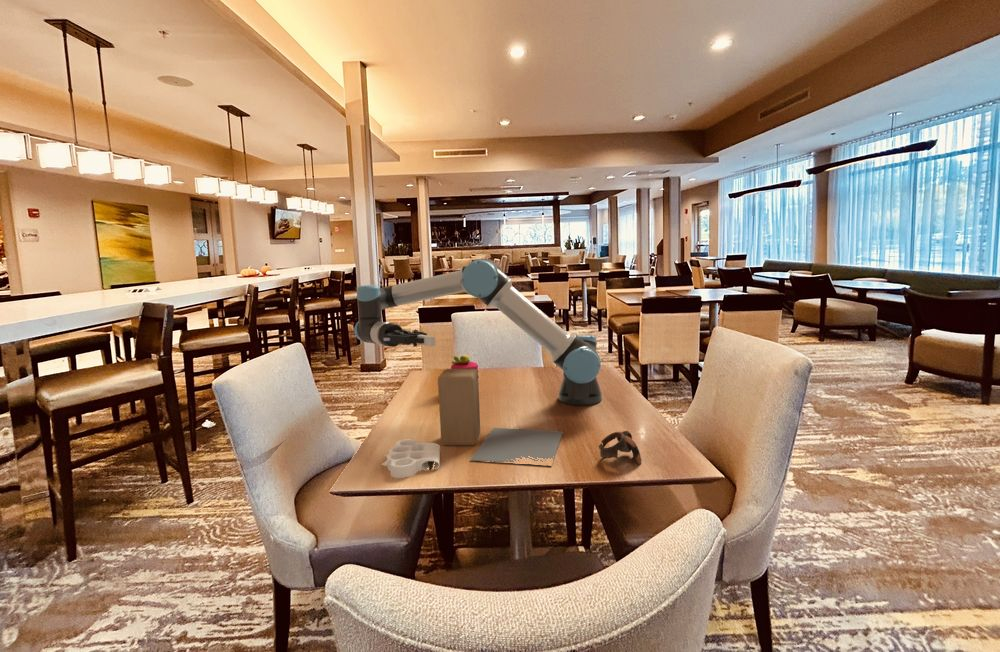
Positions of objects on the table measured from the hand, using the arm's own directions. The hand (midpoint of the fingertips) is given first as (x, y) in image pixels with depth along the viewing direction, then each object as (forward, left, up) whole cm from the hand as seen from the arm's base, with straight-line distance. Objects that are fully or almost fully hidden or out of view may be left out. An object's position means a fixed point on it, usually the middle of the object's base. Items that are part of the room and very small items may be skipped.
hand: (433, 341), depth 149 cm
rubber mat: (-27, +7, -28) cm, 39 cm away
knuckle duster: (-1, +22, -28) cm, 36 cm away
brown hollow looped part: (-54, +12, -28) cm, 62 cm away
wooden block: (-9, +5, -28) cm, 30 cm away
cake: (+5, -43, -28) cm, 51 cm away
